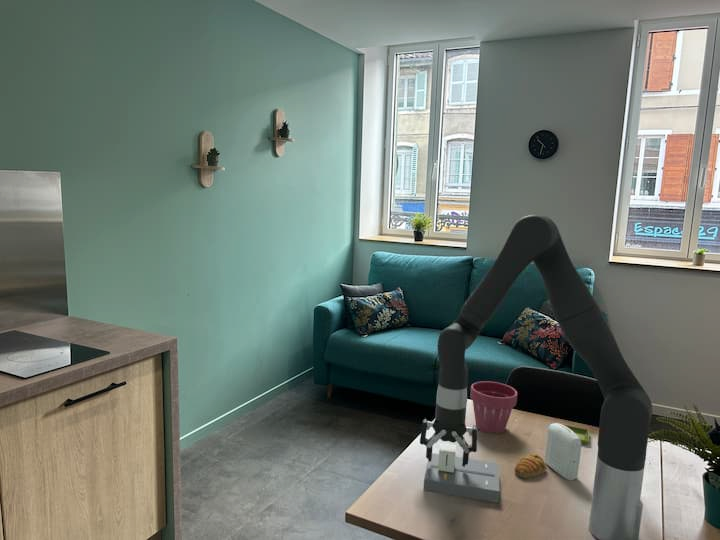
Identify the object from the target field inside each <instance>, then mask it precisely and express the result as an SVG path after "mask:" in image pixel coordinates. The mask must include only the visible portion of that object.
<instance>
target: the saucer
mask: <svg viewBox="0 0 720 540" xmlns="http://www.w3.org/2000/svg"><path fill="white" fill-rule="evenodd" d="M561 424H562V425H564V426H566V427H568V428H569V429H571V430H572V431H573V432H574V433H575V434H576V435H577V436H578V437H579V439H580V440H581V445H583V444H584V445H586V444H587V443H589V442H590V429H587V428H583V427H577V426H572V425H569V424H568V425H567V424H563V423H561Z"/></svg>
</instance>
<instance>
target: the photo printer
mask: <svg viewBox="0 0 720 540" xmlns="http://www.w3.org/2000/svg"><path fill="white" fill-rule="evenodd" d="M562 424H563V423H557V422H555V423H551V424H549V427H548V430H547V438H546V443H545V445H546V446H545V454H544V462H545V464H547V465H548V466H549V467H550V468H551V469H552V470H554V471H555V472H556V473H557V474H559V475H560V477H562V478H563V479H565V480H569V481H574V480H576V478H578V474H579V470H580V469H579V467H580V460H581V453H582V443H581V440H580V439H579V437H578V436H577V435H576V434H575V433H574V432H573V431H572V430H571V429H569V428H568V427H566V426H564V425H565V424H564V425H562Z"/></svg>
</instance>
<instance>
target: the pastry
mask: <svg viewBox="0 0 720 540" xmlns="http://www.w3.org/2000/svg"><path fill="white" fill-rule="evenodd" d="M547 469H548V468H547V466H546V462H545V460H544V458H543V457H541V456H540V455H538V454H535V453H534V454H532V453H530V454H527V455H526V456H523V457H521V458H520V459H519V460H518V461H516V464H515V467H514V474H515V475H517V476H519V477H521V478H523V479H524V478H525V479H529V478H537V477H538V476H541V475H543V474H544V473H545V472H547Z"/></svg>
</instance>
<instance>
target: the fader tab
mask: <svg viewBox="0 0 720 540" xmlns="http://www.w3.org/2000/svg"><path fill="white" fill-rule="evenodd" d="M456 453H457V444H454V443H453V444H452V443H447V442H440V443H439V451H438V454H439V462H438V470H440V471H446V472H453V473H454V467H455V457H456Z"/></svg>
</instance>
